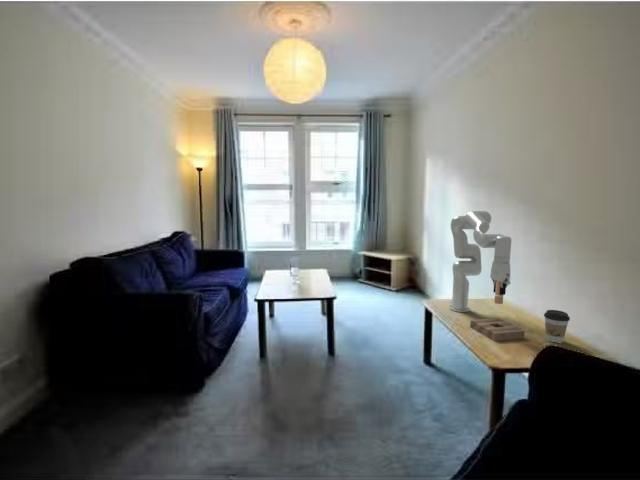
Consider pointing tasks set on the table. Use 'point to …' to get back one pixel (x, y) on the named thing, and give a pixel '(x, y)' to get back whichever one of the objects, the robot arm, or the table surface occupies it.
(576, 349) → the table surface
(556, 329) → the coffee cup
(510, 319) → the table surface
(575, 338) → the table surface
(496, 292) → the peg
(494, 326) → the board
